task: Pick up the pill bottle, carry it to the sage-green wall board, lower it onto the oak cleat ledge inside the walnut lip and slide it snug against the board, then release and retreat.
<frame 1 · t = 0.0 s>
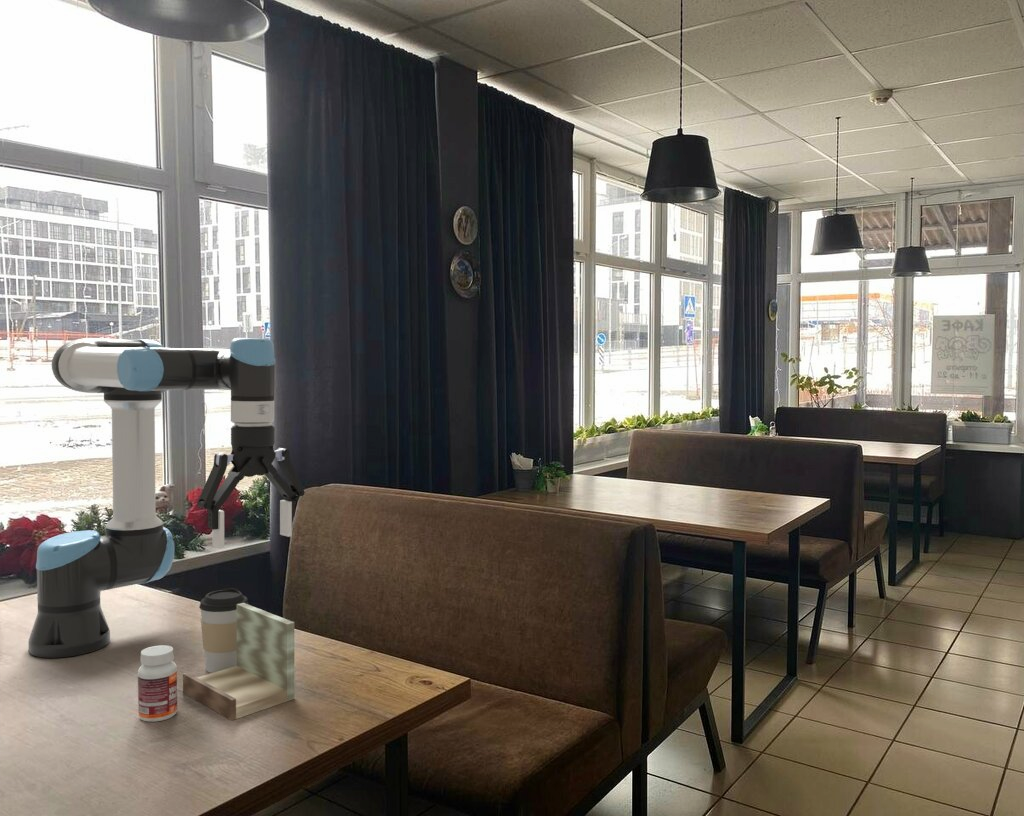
hand: (253, 541, 149), 28 cm above the table, fingers open, 13 cm apart
cleat board: (264, 687, 153), on the table
coffee cup: (224, 667, 163), on the table
pill bottle: (158, 716, 141), on the table
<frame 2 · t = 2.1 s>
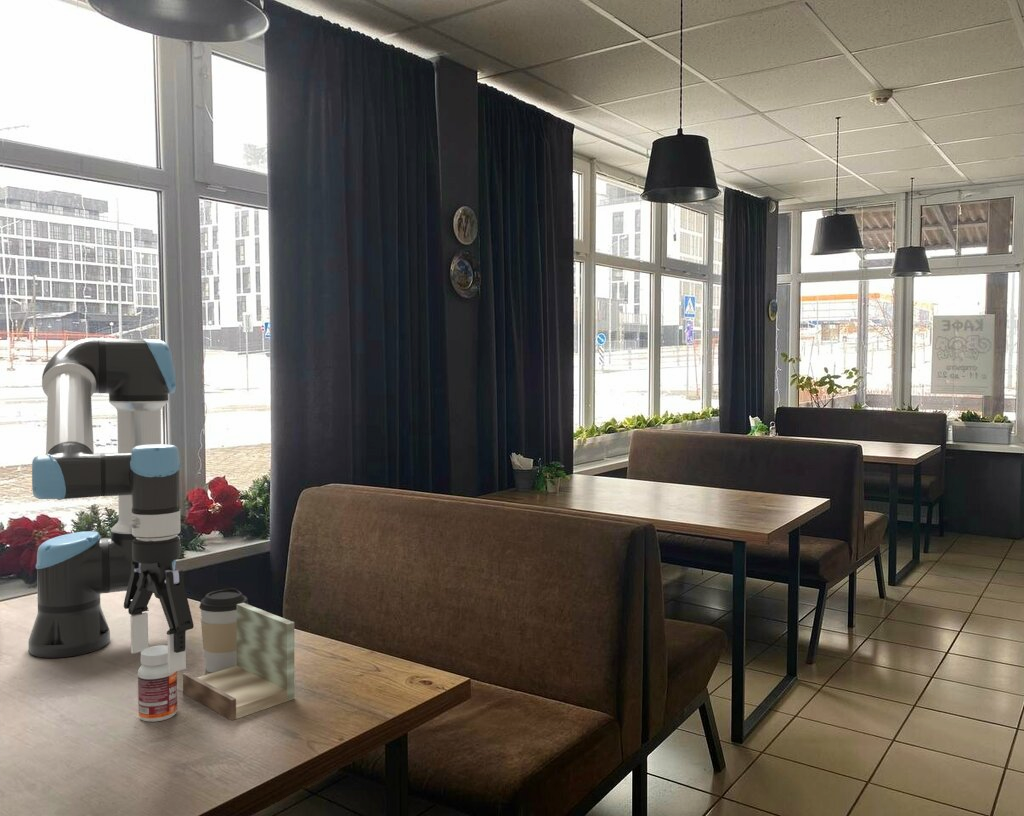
hand: (157, 660, 140), 10 cm above the table, fingers open, 13 cm apart
nothing on the table moved.
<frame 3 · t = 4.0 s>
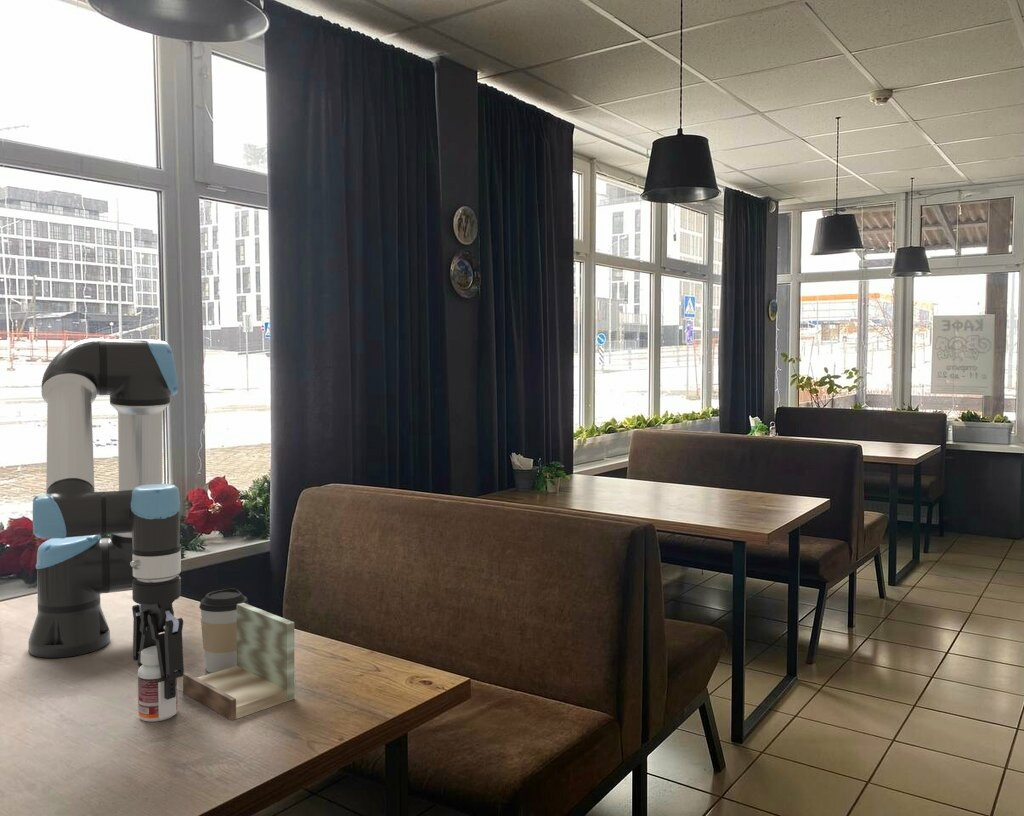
hand: (158, 709, 141), 1 cm above the table, fingers closed on pill bottle, 6 cm apart
pill bottle: (158, 716, 141), on the table, touching gripper
everything else where it was.
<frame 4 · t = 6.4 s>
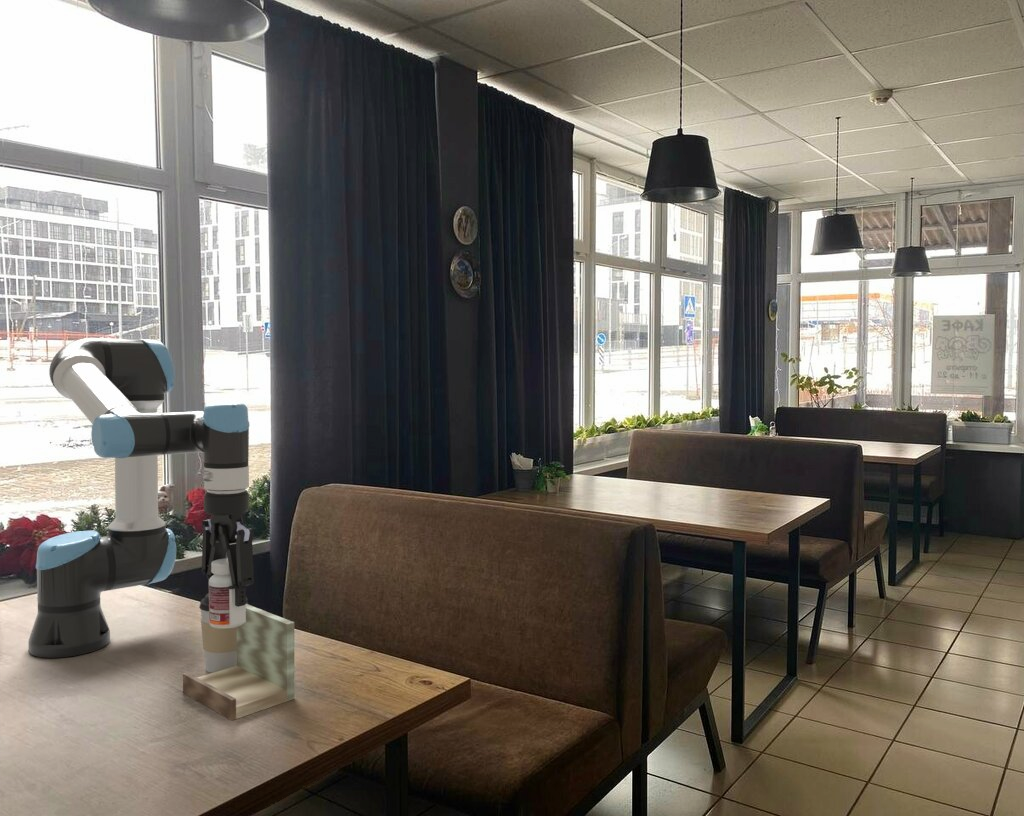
hand: (227, 618, 147), 15 cm above the table, fingers closed on pill bottle, 6 cm apart
pill bottle: (227, 625, 147), point 14 cm above the table, touching gripper
everything else where it was.
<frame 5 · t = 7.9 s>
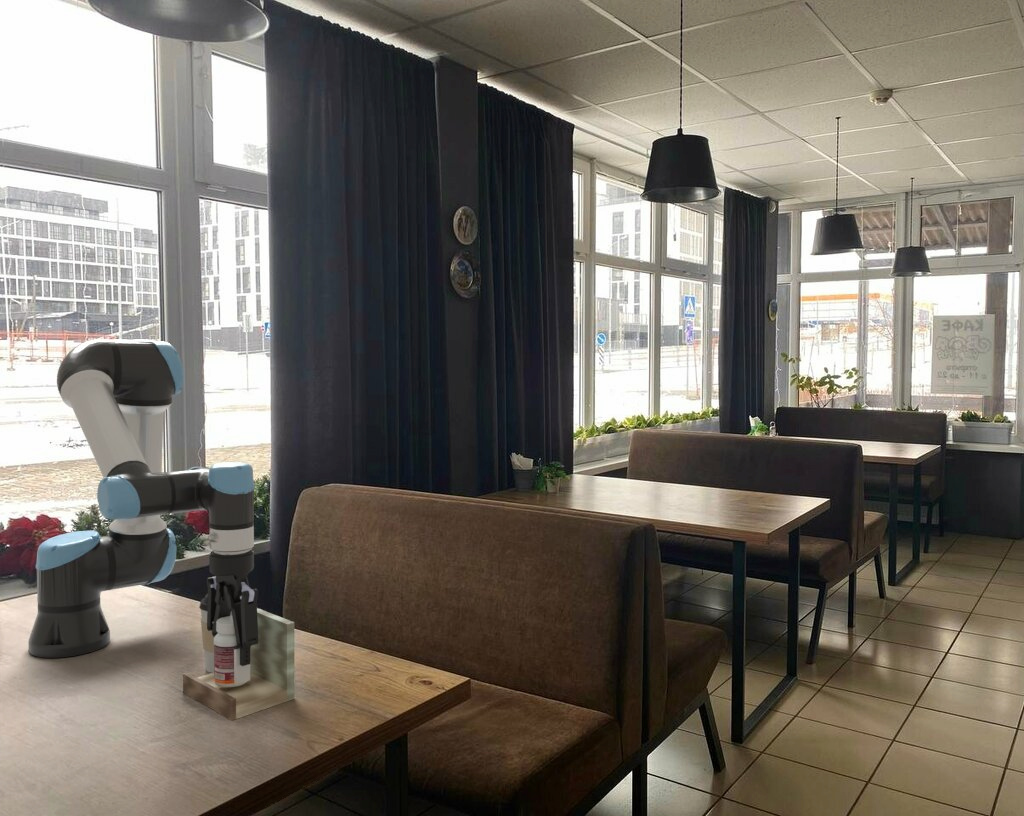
hand: (232, 676, 148), 4 cm above the table, fingers closed on pill bottle, 6 cm apart
pill bottle: (231, 682, 148), point 3 cm above the table, touching gripper
everything else where it was.
when the fingers open (4 cm above the table, at t = 9.0 s): pill bottle stays where it is, resting on cleat board.
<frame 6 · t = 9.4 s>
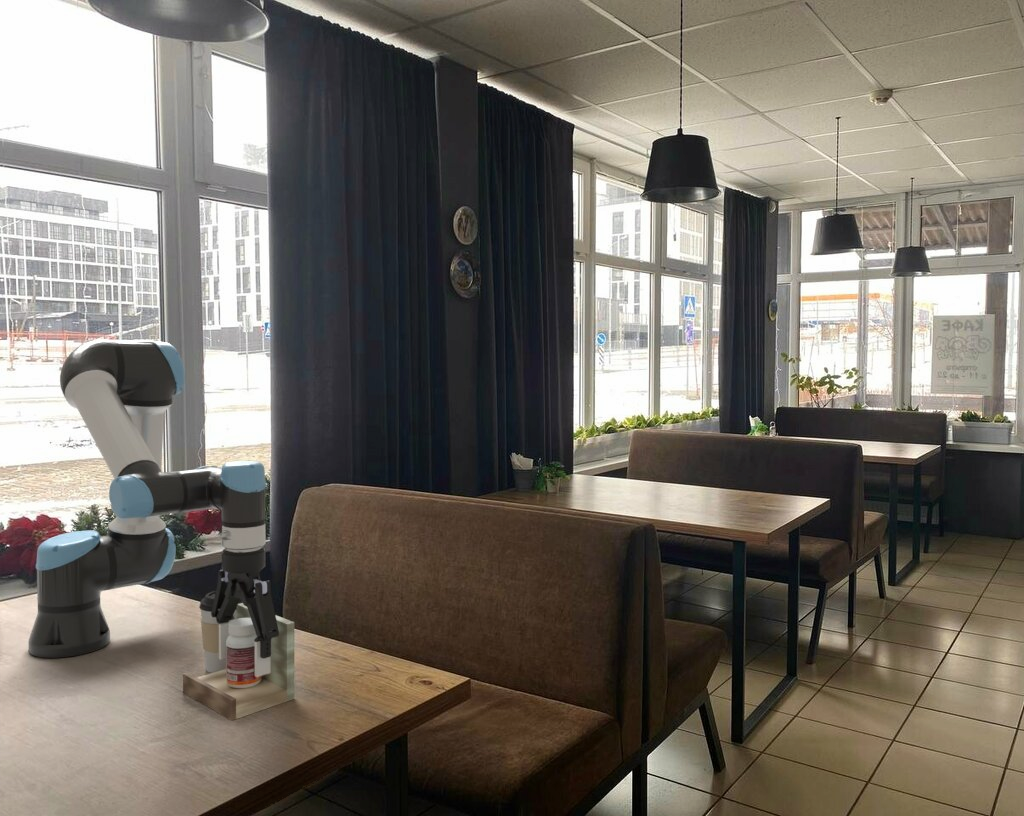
hand: (244, 665, 150), 5 cm above the table, fingers open, 11 cm apart
pill bottle: (244, 683, 150), point 2 cm above the table, touching cleat board
everything else where it was.
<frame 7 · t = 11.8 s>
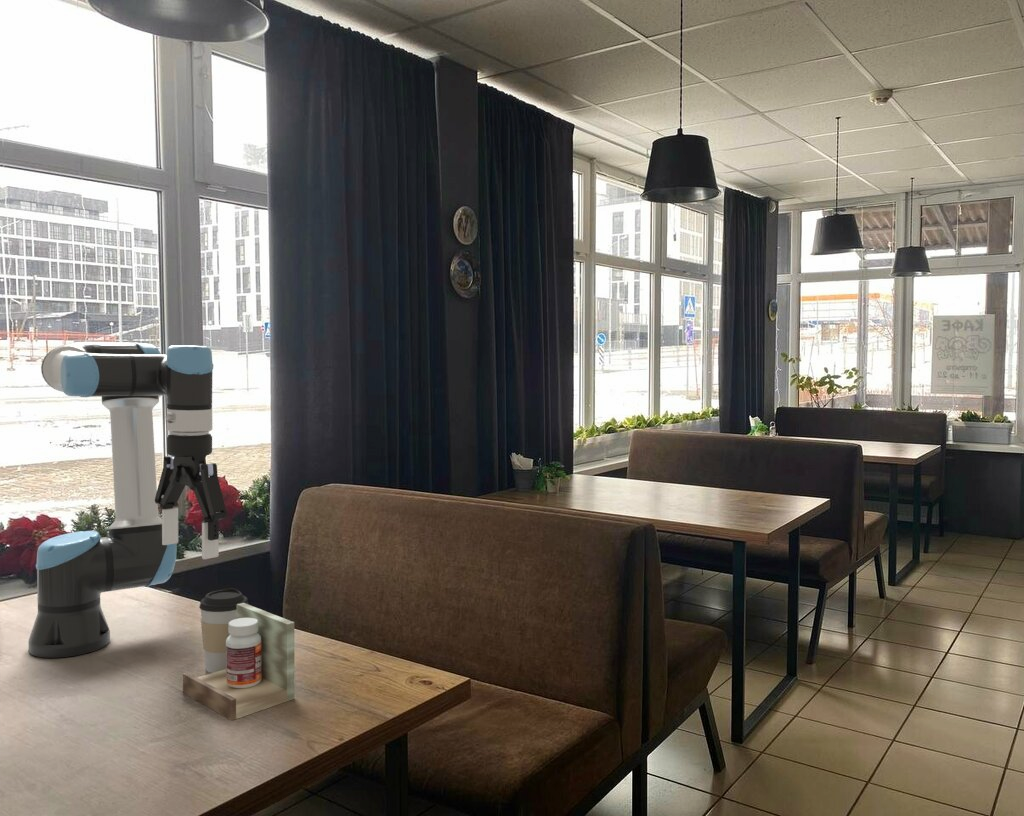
hand: (189, 550, 147), 27 cm above the table, fingers open, 13 cm apart
nothing on the table moved.
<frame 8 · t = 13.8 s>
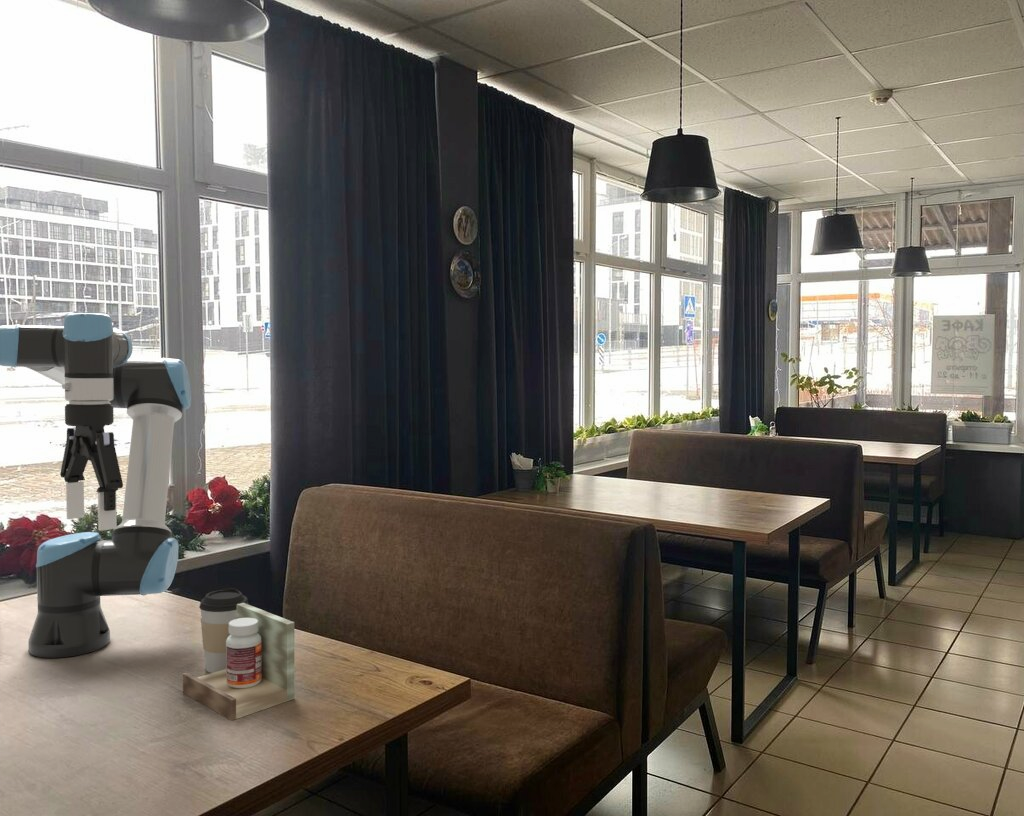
hand: (91, 523, 144), 32 cm above the table, fingers open, 13 cm apart
nothing on the table moved.
at the end: pill bottle inside the target area (0.8 cm from its centre), point 1.8 cm above the table; pill bottle tilted 0°; the gripper is holding nothing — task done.
